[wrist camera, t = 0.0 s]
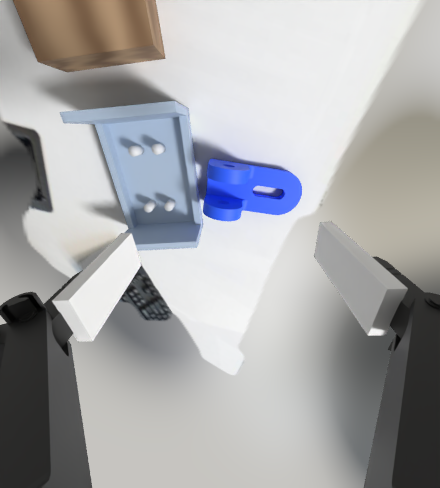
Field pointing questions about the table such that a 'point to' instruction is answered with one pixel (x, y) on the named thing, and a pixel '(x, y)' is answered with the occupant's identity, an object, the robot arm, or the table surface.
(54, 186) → the table surface
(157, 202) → the frame
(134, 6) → the brown wooden block
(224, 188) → the bracket
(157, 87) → the table surface
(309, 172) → the table surface
